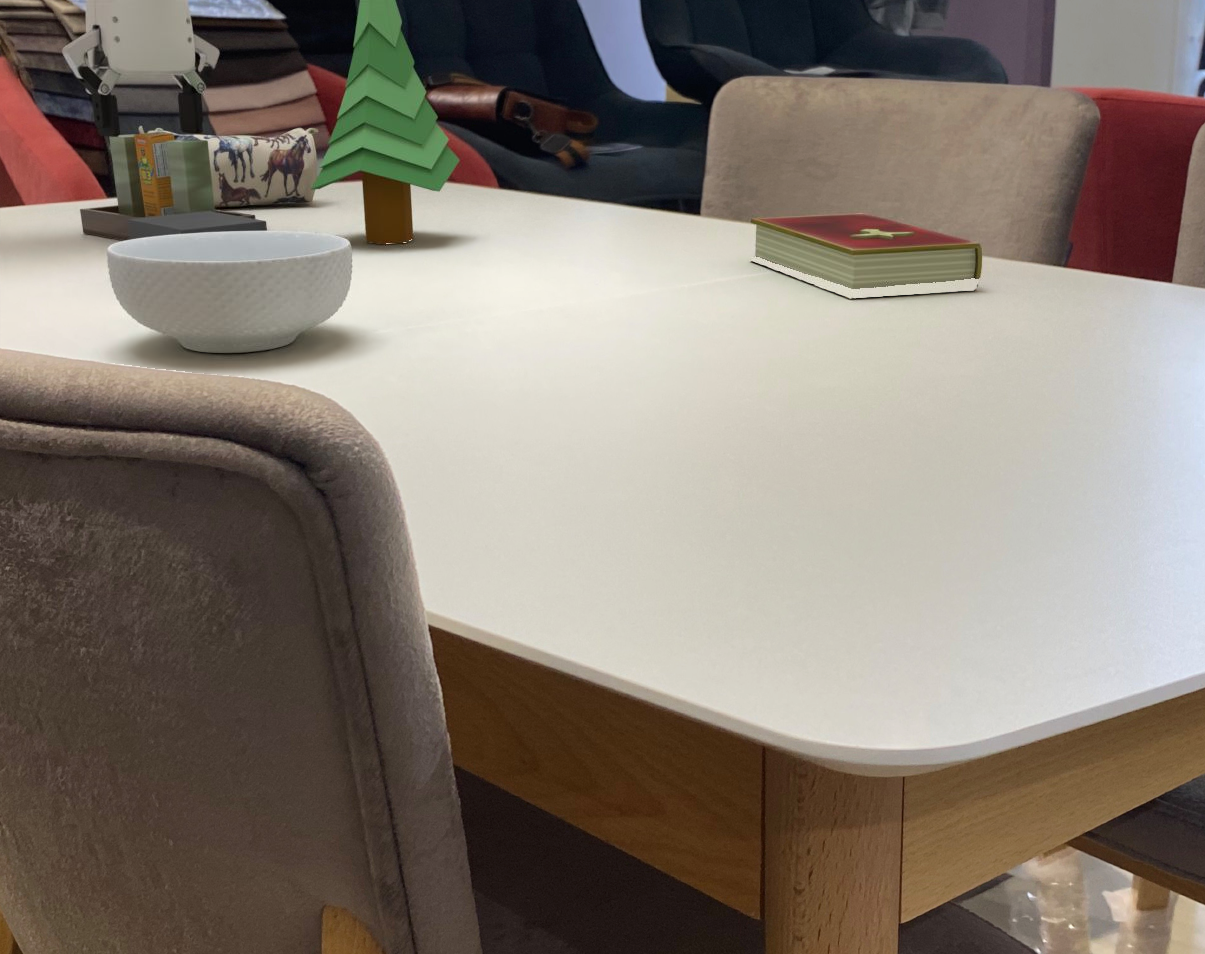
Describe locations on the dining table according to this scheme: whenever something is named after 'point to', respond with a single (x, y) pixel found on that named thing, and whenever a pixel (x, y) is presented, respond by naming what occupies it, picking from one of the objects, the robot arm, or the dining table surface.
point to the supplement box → (155, 173)
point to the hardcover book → (865, 250)
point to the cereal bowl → (231, 285)
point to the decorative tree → (386, 127)
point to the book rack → (186, 182)
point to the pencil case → (260, 167)
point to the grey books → (191, 224)
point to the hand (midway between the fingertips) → (151, 134)
